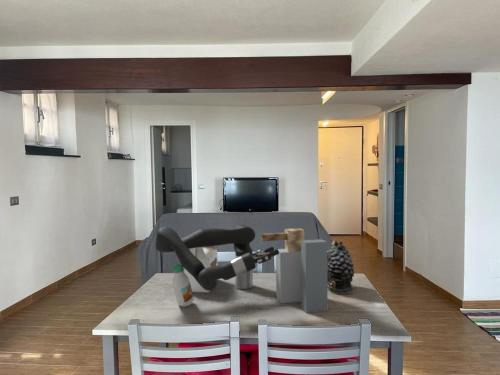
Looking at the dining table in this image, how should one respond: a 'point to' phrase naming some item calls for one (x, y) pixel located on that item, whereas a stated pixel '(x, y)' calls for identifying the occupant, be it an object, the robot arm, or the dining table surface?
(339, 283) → the dark fir cone
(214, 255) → the gable box
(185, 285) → the milk bottle
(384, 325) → the dining table surface
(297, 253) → the slate shelf stand
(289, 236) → the oak block with handle
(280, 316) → the dining table surface
